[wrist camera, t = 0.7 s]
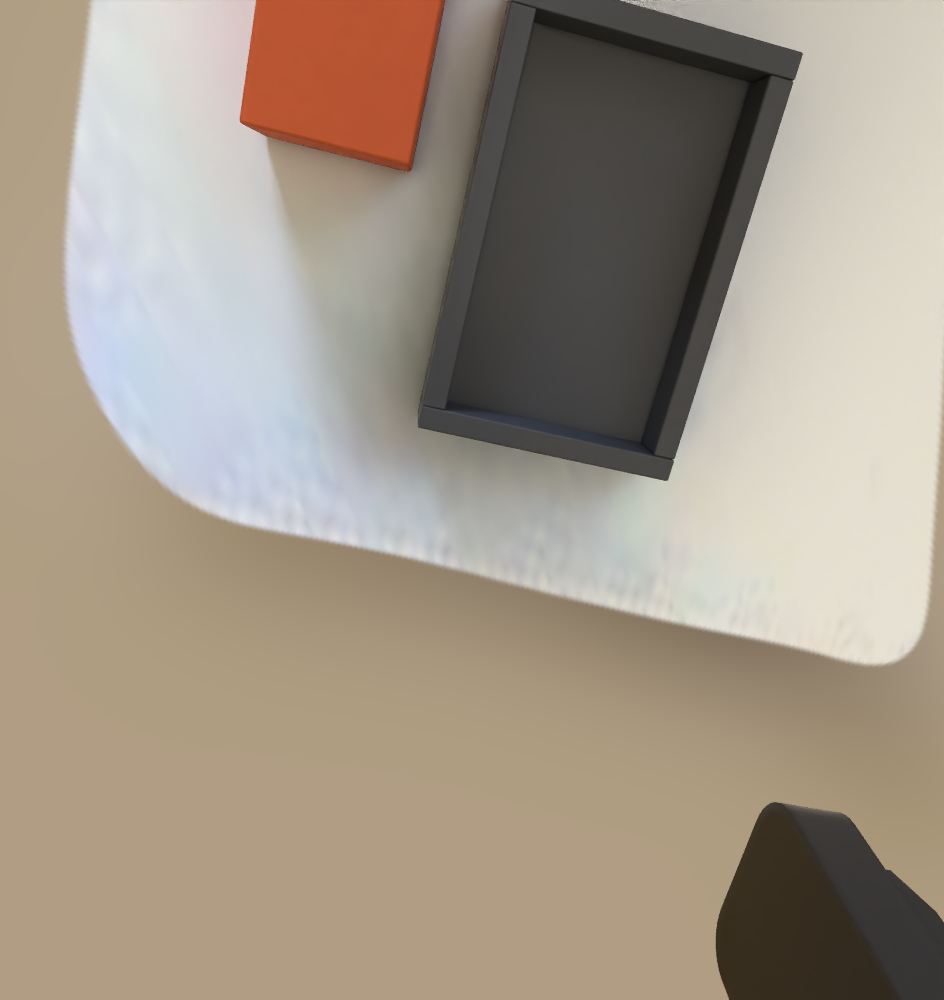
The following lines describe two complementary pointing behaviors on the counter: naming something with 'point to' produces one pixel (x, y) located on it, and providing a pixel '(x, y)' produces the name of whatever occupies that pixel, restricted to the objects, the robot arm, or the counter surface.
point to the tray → (601, 230)
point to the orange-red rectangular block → (342, 75)
